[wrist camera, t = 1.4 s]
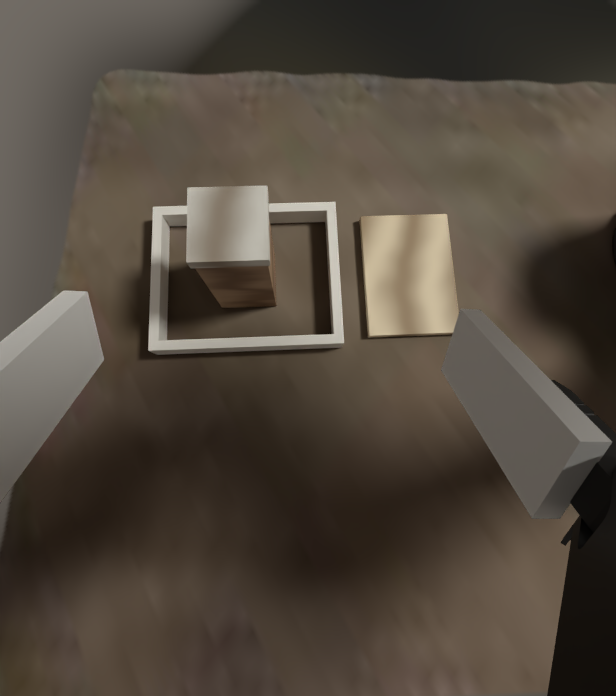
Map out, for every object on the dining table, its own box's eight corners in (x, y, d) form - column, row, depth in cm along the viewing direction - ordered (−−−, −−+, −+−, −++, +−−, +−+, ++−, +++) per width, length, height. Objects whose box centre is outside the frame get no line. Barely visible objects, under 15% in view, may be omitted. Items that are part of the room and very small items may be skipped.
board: (443, 218, 45) (446, 214, 44) (457, 334, 42) (461, 332, 41) (359, 220, 44) (360, 216, 44) (367, 337, 42) (369, 335, 41)
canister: (276, 254, 44) (267, 185, 31) (278, 307, 42) (269, 259, 30) (220, 255, 43) (187, 187, 31) (220, 309, 42) (186, 262, 29)
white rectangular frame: (333, 213, 45) (335, 201, 42) (341, 347, 42) (344, 343, 39) (161, 218, 44) (153, 206, 42) (157, 354, 41) (148, 350, 39)
